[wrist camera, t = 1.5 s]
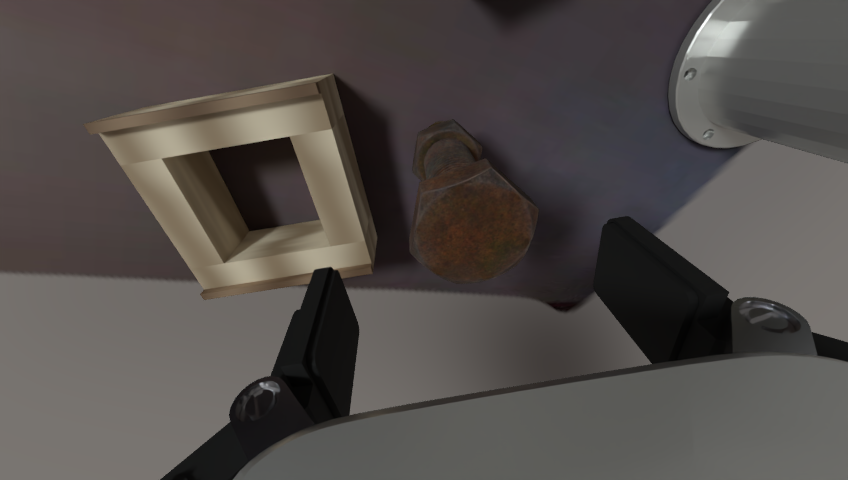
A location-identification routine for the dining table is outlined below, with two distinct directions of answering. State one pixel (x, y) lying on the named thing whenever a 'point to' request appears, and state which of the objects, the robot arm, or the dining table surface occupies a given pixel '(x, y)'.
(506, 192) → the bolt
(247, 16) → the dining table surface
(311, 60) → the dining table surface
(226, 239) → the socket
